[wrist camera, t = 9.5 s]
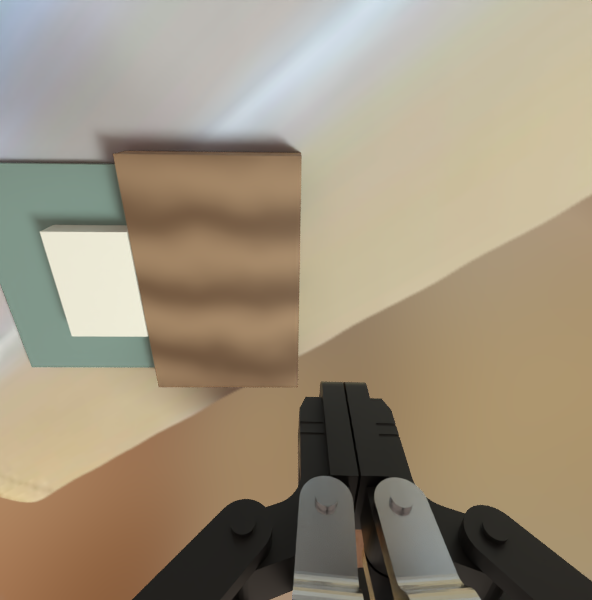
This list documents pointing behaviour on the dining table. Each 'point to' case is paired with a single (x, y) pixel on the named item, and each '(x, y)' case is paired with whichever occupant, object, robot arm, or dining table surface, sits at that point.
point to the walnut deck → (216, 263)
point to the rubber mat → (35, 266)
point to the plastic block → (96, 279)
